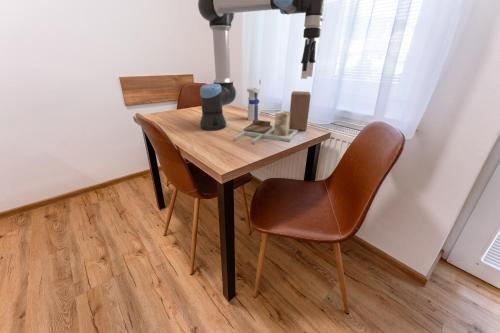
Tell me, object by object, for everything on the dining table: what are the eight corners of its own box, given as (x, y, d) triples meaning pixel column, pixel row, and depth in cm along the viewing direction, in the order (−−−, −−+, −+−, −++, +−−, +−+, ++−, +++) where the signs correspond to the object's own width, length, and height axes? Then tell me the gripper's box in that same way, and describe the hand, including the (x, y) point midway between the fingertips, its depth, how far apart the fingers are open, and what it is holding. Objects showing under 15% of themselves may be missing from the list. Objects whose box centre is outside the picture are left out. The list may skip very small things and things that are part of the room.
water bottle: (254, 116, 151) (255, 78, 140) (261, 119, 145) (263, 79, 134) (244, 118, 148) (244, 78, 136) (251, 121, 141) (251, 79, 130)
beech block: (274, 136, 115) (275, 113, 109) (277, 132, 119) (279, 110, 114) (285, 137, 112) (287, 114, 107) (288, 134, 117) (290, 111, 112)
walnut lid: (243, 130, 117) (243, 124, 116) (252, 124, 127) (252, 119, 126) (264, 133, 113) (264, 127, 112) (272, 127, 123) (272, 121, 121)
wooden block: (306, 131, 122) (310, 94, 113) (288, 130, 124) (291, 93, 115) (305, 126, 131) (310, 91, 122) (289, 125, 132) (292, 90, 124)
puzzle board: (231, 140, 109) (231, 137, 108) (252, 126, 130) (252, 124, 129) (284, 148, 99) (284, 145, 98) (297, 132, 120) (297, 129, 119)
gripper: (316, 24, 89) (309, 79, 98) (324, 30, 109) (318, 76, 119) (298, 24, 91) (293, 79, 101) (309, 30, 112) (304, 75, 121)
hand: (306, 77), depth 110 cm, fingers open, 13 cm apart
